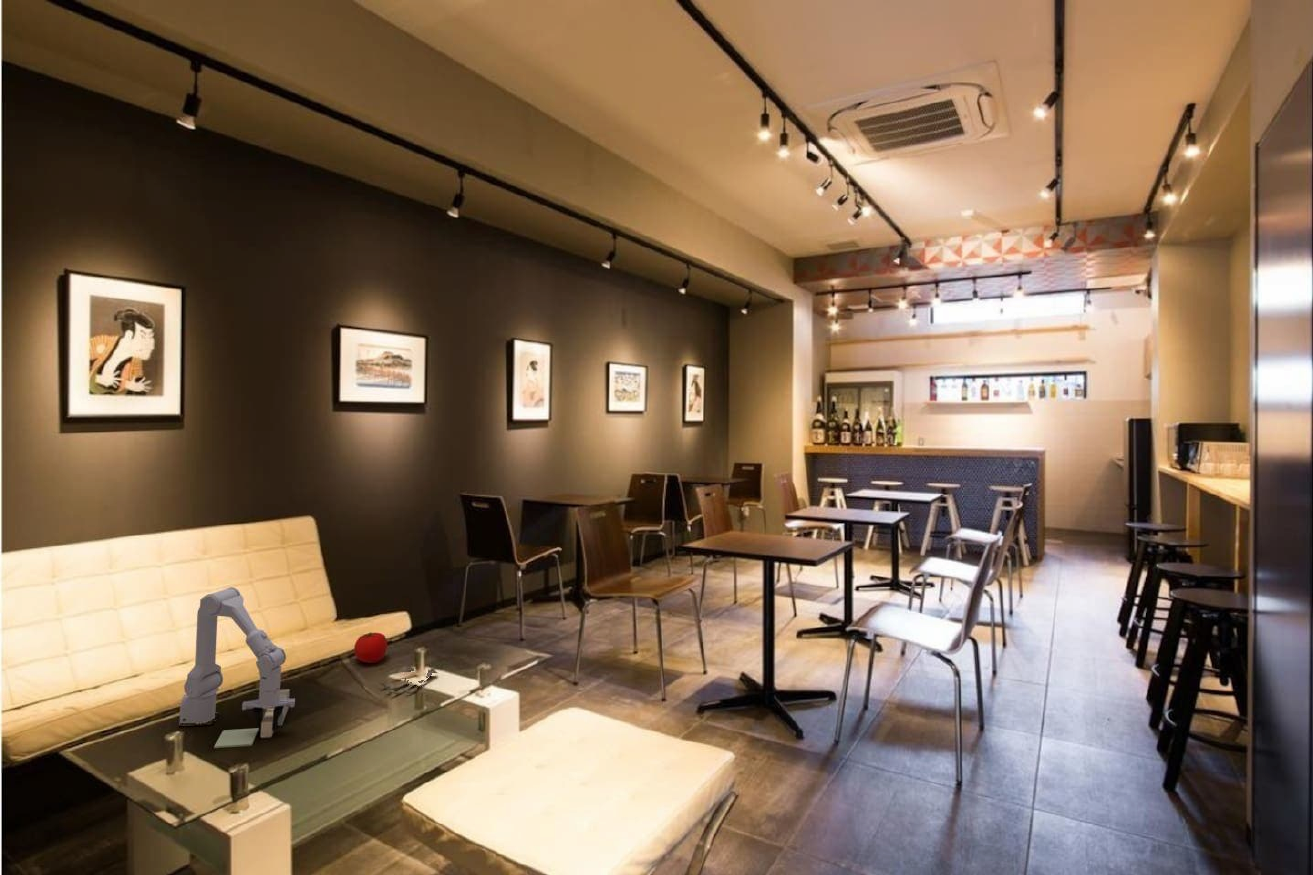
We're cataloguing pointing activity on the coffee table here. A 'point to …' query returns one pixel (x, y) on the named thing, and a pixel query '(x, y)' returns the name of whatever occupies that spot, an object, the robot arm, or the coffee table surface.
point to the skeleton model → (405, 669)
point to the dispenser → (282, 716)
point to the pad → (236, 738)
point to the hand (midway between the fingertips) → (267, 729)
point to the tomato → (370, 647)
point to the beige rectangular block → (267, 724)
